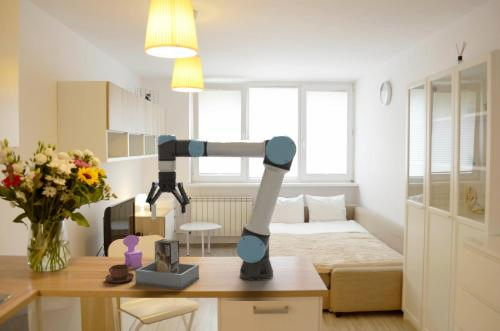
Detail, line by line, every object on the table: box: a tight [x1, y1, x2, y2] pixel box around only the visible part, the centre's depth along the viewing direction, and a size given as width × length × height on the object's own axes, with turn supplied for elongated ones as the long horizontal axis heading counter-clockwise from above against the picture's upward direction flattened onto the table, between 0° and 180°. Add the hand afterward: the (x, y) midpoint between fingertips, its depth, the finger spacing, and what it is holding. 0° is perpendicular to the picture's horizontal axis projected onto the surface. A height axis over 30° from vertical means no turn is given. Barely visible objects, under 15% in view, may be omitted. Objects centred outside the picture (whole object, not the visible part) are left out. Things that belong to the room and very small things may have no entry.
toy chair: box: [122, 234, 143, 270], centre depth 204 cm, size 8×9×15 cm
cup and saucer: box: [104, 263, 135, 284], centre depth 182 cm, size 12×12×6 cm
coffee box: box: [154, 238, 180, 274], centre depth 181 cm, size 9×6×16 cm
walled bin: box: [134, 260, 200, 290], centre depth 181 cm, size 22×16×6 cm
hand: (167, 220), depth 180 cm, fingers open, 13 cm apart
